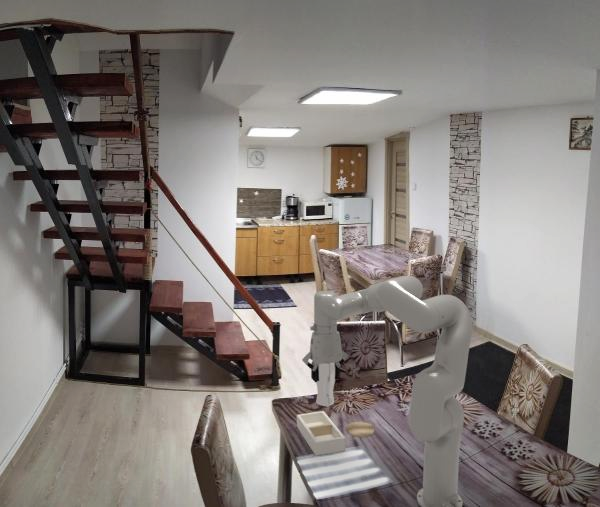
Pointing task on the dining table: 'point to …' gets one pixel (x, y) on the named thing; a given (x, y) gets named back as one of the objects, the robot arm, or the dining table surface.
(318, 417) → the cream divided tray
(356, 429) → the cork trivet
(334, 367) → the beer glass
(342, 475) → the dining table surface
